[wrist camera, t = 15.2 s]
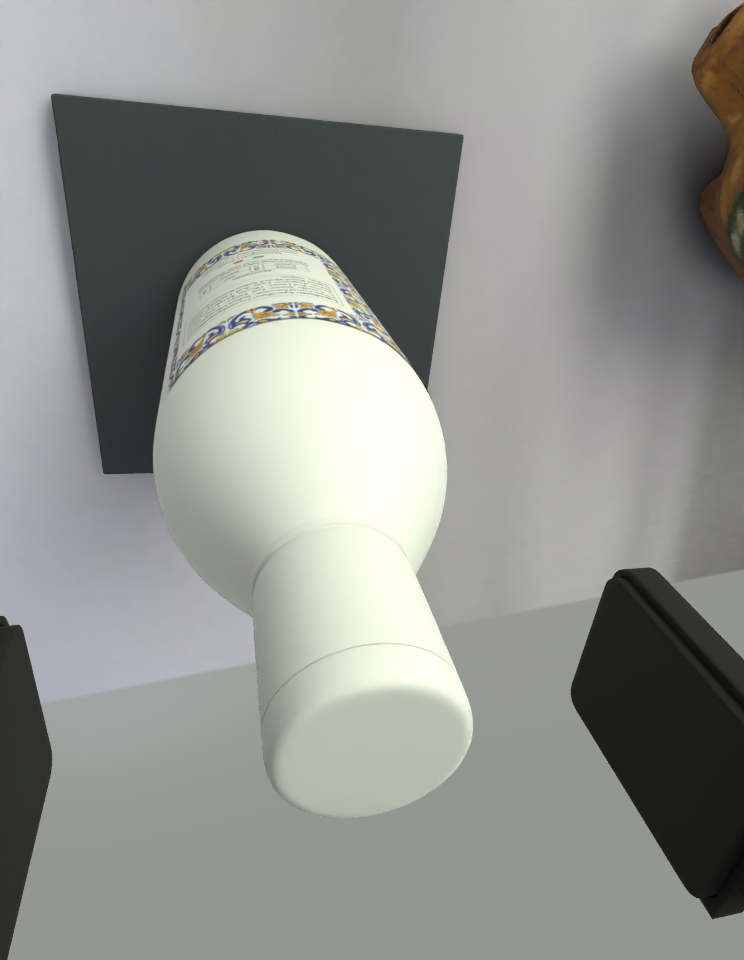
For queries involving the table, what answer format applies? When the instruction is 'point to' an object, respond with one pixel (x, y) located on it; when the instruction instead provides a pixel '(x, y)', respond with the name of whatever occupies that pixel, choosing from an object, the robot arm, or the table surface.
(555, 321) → the table surface
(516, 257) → the table surface
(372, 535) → the bath foam
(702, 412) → the table surface
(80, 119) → the mat
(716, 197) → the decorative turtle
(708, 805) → the robot arm
